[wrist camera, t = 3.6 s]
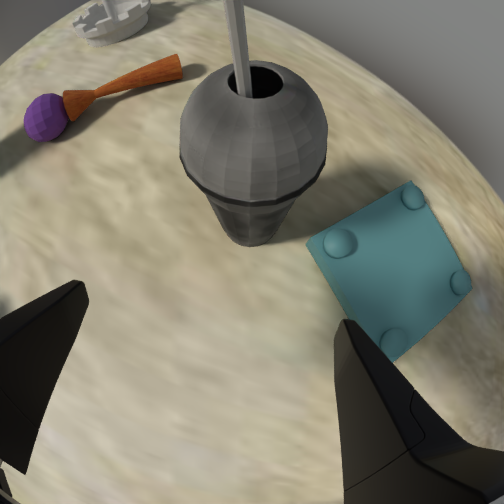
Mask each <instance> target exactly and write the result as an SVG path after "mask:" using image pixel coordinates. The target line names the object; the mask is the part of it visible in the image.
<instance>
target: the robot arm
mask: <svg viewBox="0 0 504 504" xmlns="http://www.w3.org/2000/svg"><path fill="white" fill-rule="evenodd" d="M88 305H89V298H88V294H87V291H86V287H85V284H84V283H83V282H82V281H78V280H72V281H70V282H68V283H66V284H64V285H62V286H60V287H58V288H56V289H54V290H52V291H50V292H48V293H46V294H45V295H43V296H41V297H39V298H37V299H35V300H33V301H31V302H29V303H28V304H26V305H24V306H22V307H20V308H18V309H17V310H15V311H13V312H11V313H9V314H7V315H6V316H4V317H2V318H1V319H0V467H1V464H2V462H3V461H4V462H6V463H7V464H9V465H10V466H12V467H13V468H15V469H16V470H18V471H19V472H21V473H23V474H24V475H25V474H26V472H27V469H28V465H29V461H30V458H31V454H32V451H33V447H34V444H35V441H36V438H37V434H38V431H39V430H38V429H39V428H40V425H41V422H42V419H43V416H44V414H45V411H46V408H47V405H48V403H49V400H50V397H51V395H52V392H53V390H54V387H55V385H56V382H57V380H58V378H59V375H60V373H61V371H62V368H63V366H64V364H65V361H66V359H67V357H68V355H69V352H70V350H71V348H72V346H73V344H74V342H75V339H76V337H77V334H78V332H79V329H80V326H81V323H82V321H83V318H84V315H85V313H86V310H87V308H88ZM334 382H335V392H336V401H337V410H338V420H339V431H340V442H341V455H342V469H343V487H344V504H504V452H503V451H497V450H492V449H487V448H482V447H477V446H474V445H472V444H470V443H468V442H466V441H465V440H464V439H463V438H462V437H460V436H459V435H458V434H457V433H456V432H455V431H454V430H453V429H452V428H451V427H450V426H449V425H448V424H447V423H446V422H445V421H444V420H443V419H442V418H441V417H440V416H439V415H438V414H437V413H436V412H435V411H434V410H433V409H432V408H431V407H430V406H429V404H428V403H427V402H426V401H425V400H424V399H423V398H422V397H421V395H420V394H419V393H418V392H417V391H416V390H414V387H413V386H412V385H411V384H410V383H409V381H408V380H407V379H406V378H405V377H404V376H403V374H402V373H401V372H400V371H399V370H398V369H397V367H396V366H395V365H394V364H393V363H392V362H391V361H390V359H389V358H388V357H387V356H386V355H385V354H384V353H383V351H382V350H381V349H380V348H379V347H378V346H377V345H376V344H375V342H374V341H373V340H372V339H371V338H370V337H369V336H368V335H367V333H366V332H365V331H364V330H363V329H362V328H361V327H360V326H359V324H358V323H357V322H356V321H355V320H351V319H343V320H342V321H341V322H340V325H339V327H338V330H337V332H336V335H335V338H334ZM0 504H20V503H19V502H17V501H16V500H15V499H13V498H12V494H11V491H10V488H9V485H8V483H7V480H6V477H5V473H4V470H3V469H1V468H0Z"/></svg>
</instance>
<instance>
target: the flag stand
mask: <svg viewBox="0 0 504 504" xmlns="http://www.w3.org/2000/svg"><path fill="white" fill-rule="evenodd" d="M102 1H103V4H101V5H100V6H98V4H97V3H94V4H92V5H90V6H89V7H87V8H86V9H84V11H85V14H86V15H84V16H83V17H82V16H78V17H76V18H75V19H74V21H73V26H74V28H75V32H76V34H77V36H78V37H80V38H86V40H87V42H88V44H89V45H90V46H91V47H103V46H108V45H111V44H114V43H117V42H119V41H121V40H124V39H126V38H128V37H130V36H131V35H133V34H135V33H136V32H138V31H139V30H140V29H142V28H143V27H144V26H145V25H146V23H147V22H148V15H147V11H148V9H149V8H150V6H151V1H150V0H102Z"/></svg>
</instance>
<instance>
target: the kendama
mask: <svg viewBox="0 0 504 504" xmlns="http://www.w3.org/2000/svg"><path fill="white" fill-rule="evenodd" d="M177 79H182V68H181V64H180V60H179V57H178V55H177V54H174V55H171V56H169V57H166V58H163V59H161V60H158V61H156V62H153V63H151V64H148V65H146V66H144V67H141V68H139V69H137V70H134V71H132V72H130V73H128V74H126V75H123V76H121V77H119V78H117V79H115V80H113V81H111V82H109V83H107V84H105V85H103V86H101V87H99V88H97V89H96V90H66V91H64V92H63V98H62V97H61V96H59V95H56V94H53V93H50V94H43V95H41V96H39V97H37V98H36V99H35V100H34V101H33V102H32V103H31V104H30V106H29V107H28V108H27V110H26V113H25V116H24V127H25V130H26V132H27V134H28V136H29V137H30V138H32V139H34V140H36V141H38V142H46V141H50V140H52V139H54V138H56V137H58V136H59V135H60V134H61V132H62V131H63V130H64V129H65V126H66V124H67V122H68V119H69V118H70V120H71V121H75V120H76V119H77V118H78V117H79V116H80V115H81V114H82V112H83V111H84V110H85V109H86V108H87V107H88V106H89V105H90V104H91V103H92V102H93V101H94V100H95V99H96V98H99V97H102V96H106V95H109V94H113V93H117V92H121V91H124V90H128V89H133V88H137V87H141V86H146V85H150V84H155V83H160V82H165V81H171V80H177Z"/></svg>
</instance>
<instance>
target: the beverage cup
mask: <svg viewBox="0 0 504 504" xmlns="http://www.w3.org/2000/svg"><path fill="white" fill-rule="evenodd" d="M223 2H224V9H225V15H226V21H227V27H228V33H229V39H230V46H231V52H232V58H233V64H229V65H227V66H224V67H222V68H221V69H219V70H217V71H215V72H213V73H211V74H210V75H209V76H208V77H206V78H205V79H204V80H203V81H202V82H201V83H200V84H199V85H198V86H197V87H196V88H195V89H194V91H193V92H192V94H191V95H190V97H189V99H188V101H187V104H186V106H185V108H184V110H183V113H182V116H181V120H180V160H181V162H182V164H183V167H184V169H185V172H186V174H187V176H188V177H189V178H190V179H191V180H192V181H193V182H194V183H195V184H196V185H197V187H198V188H199V189H200V190H201V191H202V192H203V193H204V194H205V195H206V196H207V198H208V200H209V202H210V204H211V206H212V208H213V210H214V212H215V214H216V216H217V218H218V220H219V222H220V224H221V226H222V228H223V229H224V231H225V232H226V233H227V235H228V236H229V237H230V239H231V240H232V241H234V242H235V243H237V244H239V245H241V246H246V247H254V246H259V245H261V244H264V243H266V242H267V241H268V240H269V239H270V238H271V237H272V236H273V234H275V232H276V231H277V229H278V228H279V226H280V224H281V223H282V221H283V219H284V218H285V216H286V214H287V213H288V211H289V209H290V208H291V206H292V204H293V203H294V201H295V199H296V198H297V197H299V196H300V195H301V194H302V193H303V192H304V191H305V190H307V189H308V188H309V187H310V186H311V185H312V184H314V183H315V182H316V180H317V179H318V177H319V175H320V173H321V171H322V169H323V167H324V166H325V162H326V151H327V135H328V124H327V120H326V116H325V113H324V110H323V107H322V104H321V102H320V100H319V98H318V96H317V95H316V93H315V92H314V91H313V90H312V88H311V87H310V86H309V85H308V84H307V82H306V81H305V80H304V79H303V78H301V77H300V76H298V75H297V74H295V73H294V72H292V71H291V70H289V69H287V68H286V67H283V66H280V65H277V64H275V63H272V62H265V61H258V60H254V61H249V55H248V45H247V35H246V26H245V16H244V7H243V0H223Z"/></svg>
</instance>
